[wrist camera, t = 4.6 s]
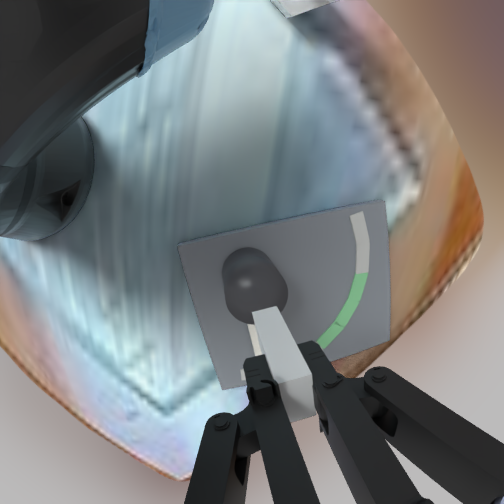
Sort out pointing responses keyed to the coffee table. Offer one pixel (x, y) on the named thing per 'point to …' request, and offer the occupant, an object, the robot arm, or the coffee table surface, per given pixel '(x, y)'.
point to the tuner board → (300, 283)
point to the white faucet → (298, 6)
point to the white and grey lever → (252, 287)
